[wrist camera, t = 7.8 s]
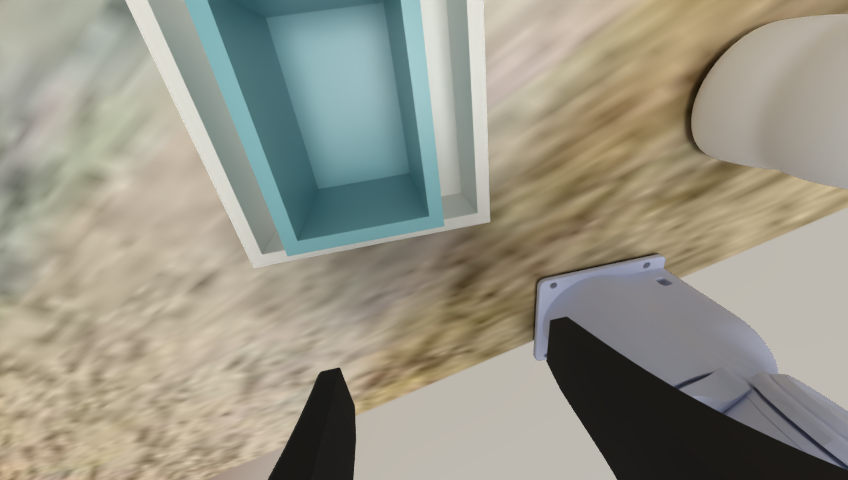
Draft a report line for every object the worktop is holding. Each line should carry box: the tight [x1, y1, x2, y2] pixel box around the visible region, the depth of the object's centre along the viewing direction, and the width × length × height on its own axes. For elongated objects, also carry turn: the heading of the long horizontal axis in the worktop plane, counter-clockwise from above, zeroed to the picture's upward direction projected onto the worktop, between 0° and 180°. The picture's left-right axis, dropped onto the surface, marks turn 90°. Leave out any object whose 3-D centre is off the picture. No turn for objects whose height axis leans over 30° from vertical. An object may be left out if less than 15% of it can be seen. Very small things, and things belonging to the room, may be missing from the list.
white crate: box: [126, 0, 490, 268], centre depth 13 cm, size 11×12×4 cm
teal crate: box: [184, 0, 444, 256], centre depth 12 cm, size 6×8×6 cm
